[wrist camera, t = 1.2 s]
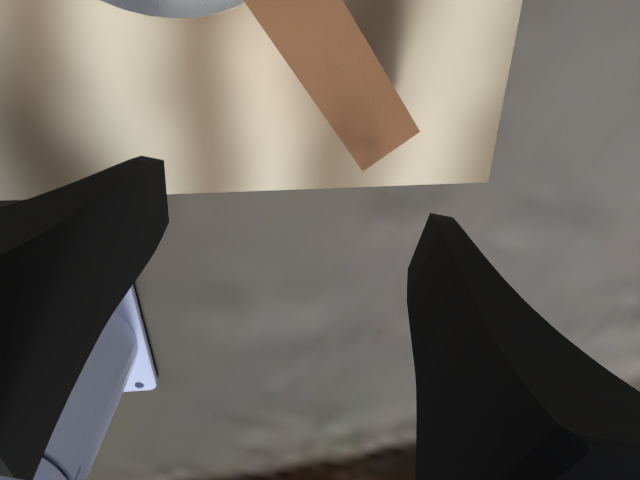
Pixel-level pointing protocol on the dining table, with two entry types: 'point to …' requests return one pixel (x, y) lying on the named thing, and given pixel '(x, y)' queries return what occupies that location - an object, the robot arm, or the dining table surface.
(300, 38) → the grey and orange-brown pieces
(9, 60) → the base board
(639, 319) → the dining table surface
